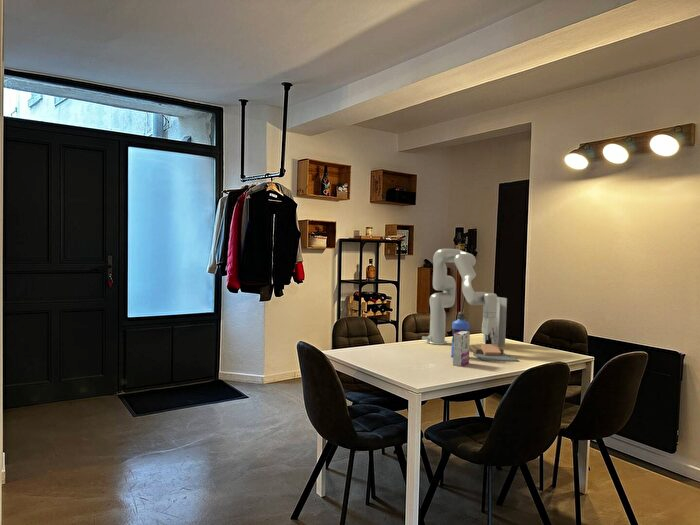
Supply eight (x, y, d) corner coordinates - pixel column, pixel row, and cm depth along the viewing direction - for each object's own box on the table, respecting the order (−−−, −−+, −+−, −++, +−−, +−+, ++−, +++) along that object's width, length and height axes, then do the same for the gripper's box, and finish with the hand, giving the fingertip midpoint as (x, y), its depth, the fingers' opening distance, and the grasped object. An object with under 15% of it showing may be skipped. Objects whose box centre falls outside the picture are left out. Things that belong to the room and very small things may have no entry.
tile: (484, 355, 294) (485, 352, 293) (480, 346, 300) (481, 343, 299) (500, 355, 295) (500, 352, 294) (496, 347, 301) (497, 344, 300)
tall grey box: (483, 342, 341) (485, 296, 340) (489, 342, 343) (491, 296, 343) (497, 346, 328) (500, 298, 328) (504, 346, 331) (507, 298, 330)
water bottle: (447, 356, 289) (449, 311, 289) (456, 354, 296) (458, 310, 295) (462, 359, 283) (464, 313, 282) (471, 357, 290) (473, 312, 289)
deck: (476, 354, 298) (476, 349, 298) (468, 350, 311) (468, 345, 311) (503, 355, 300) (503, 349, 300) (494, 350, 313) (495, 345, 313)
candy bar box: (460, 361, 277) (461, 330, 277) (469, 363, 274) (470, 331, 274) (452, 365, 268) (453, 333, 267) (461, 366, 265) (463, 334, 265)
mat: (482, 360, 282) (483, 359, 282) (473, 354, 297) (473, 353, 297) (519, 361, 284) (519, 360, 284) (507, 355, 299) (507, 354, 299)
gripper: (478, 313, 308) (477, 344, 309) (487, 316, 294) (486, 349, 294) (491, 313, 309) (489, 344, 310) (501, 316, 294) (499, 349, 295)
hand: (488, 346), depth 302 cm, fingers closed
